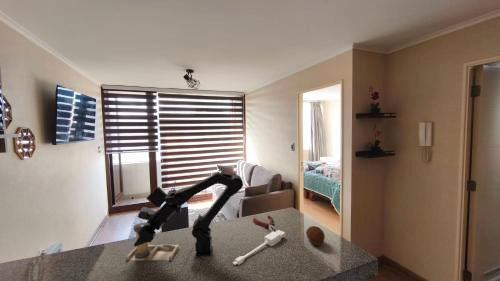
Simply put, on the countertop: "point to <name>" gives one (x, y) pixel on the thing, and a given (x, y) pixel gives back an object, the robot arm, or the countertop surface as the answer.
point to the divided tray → (156, 252)
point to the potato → (315, 235)
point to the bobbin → (143, 248)
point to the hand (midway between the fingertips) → (138, 240)
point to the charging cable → (268, 239)
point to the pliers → (266, 224)
